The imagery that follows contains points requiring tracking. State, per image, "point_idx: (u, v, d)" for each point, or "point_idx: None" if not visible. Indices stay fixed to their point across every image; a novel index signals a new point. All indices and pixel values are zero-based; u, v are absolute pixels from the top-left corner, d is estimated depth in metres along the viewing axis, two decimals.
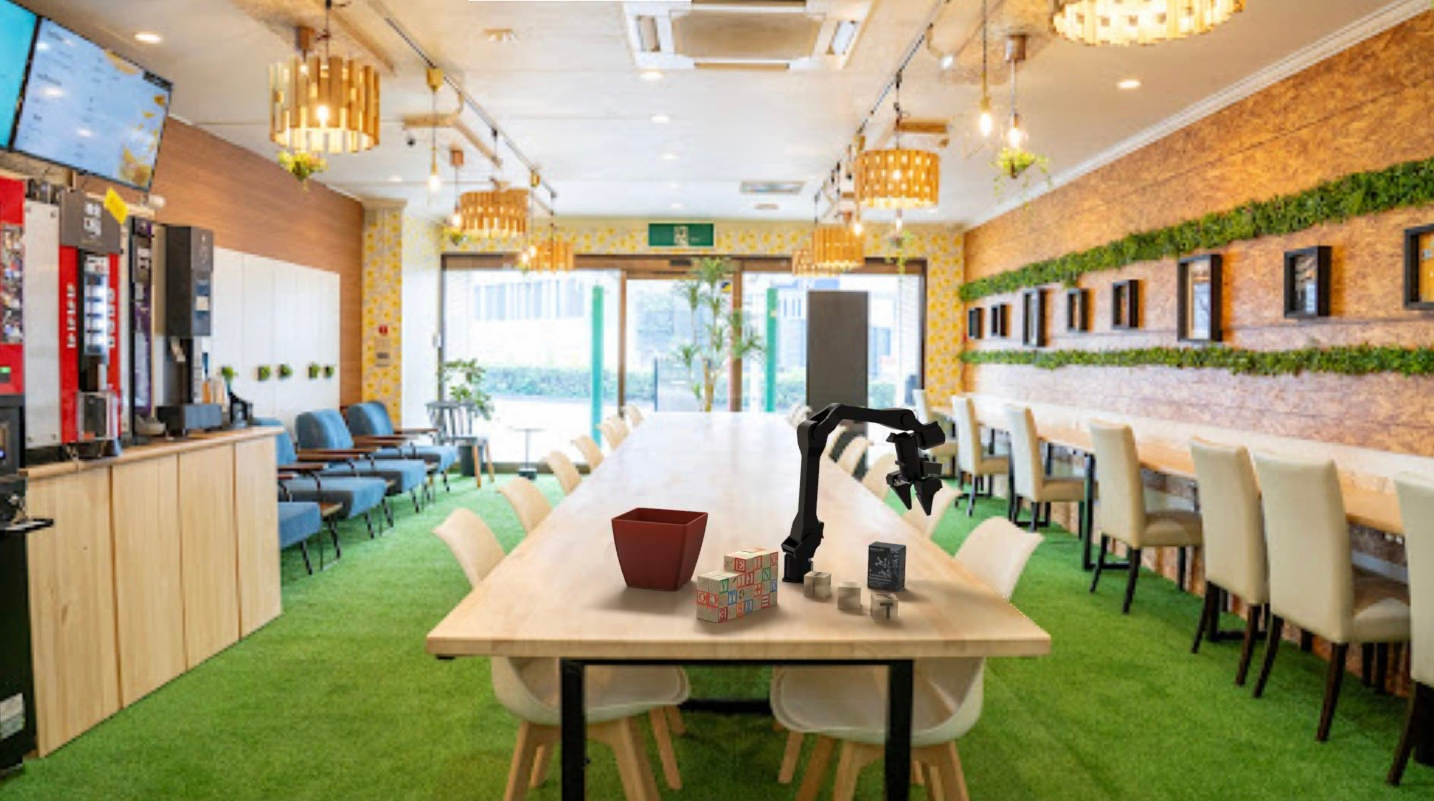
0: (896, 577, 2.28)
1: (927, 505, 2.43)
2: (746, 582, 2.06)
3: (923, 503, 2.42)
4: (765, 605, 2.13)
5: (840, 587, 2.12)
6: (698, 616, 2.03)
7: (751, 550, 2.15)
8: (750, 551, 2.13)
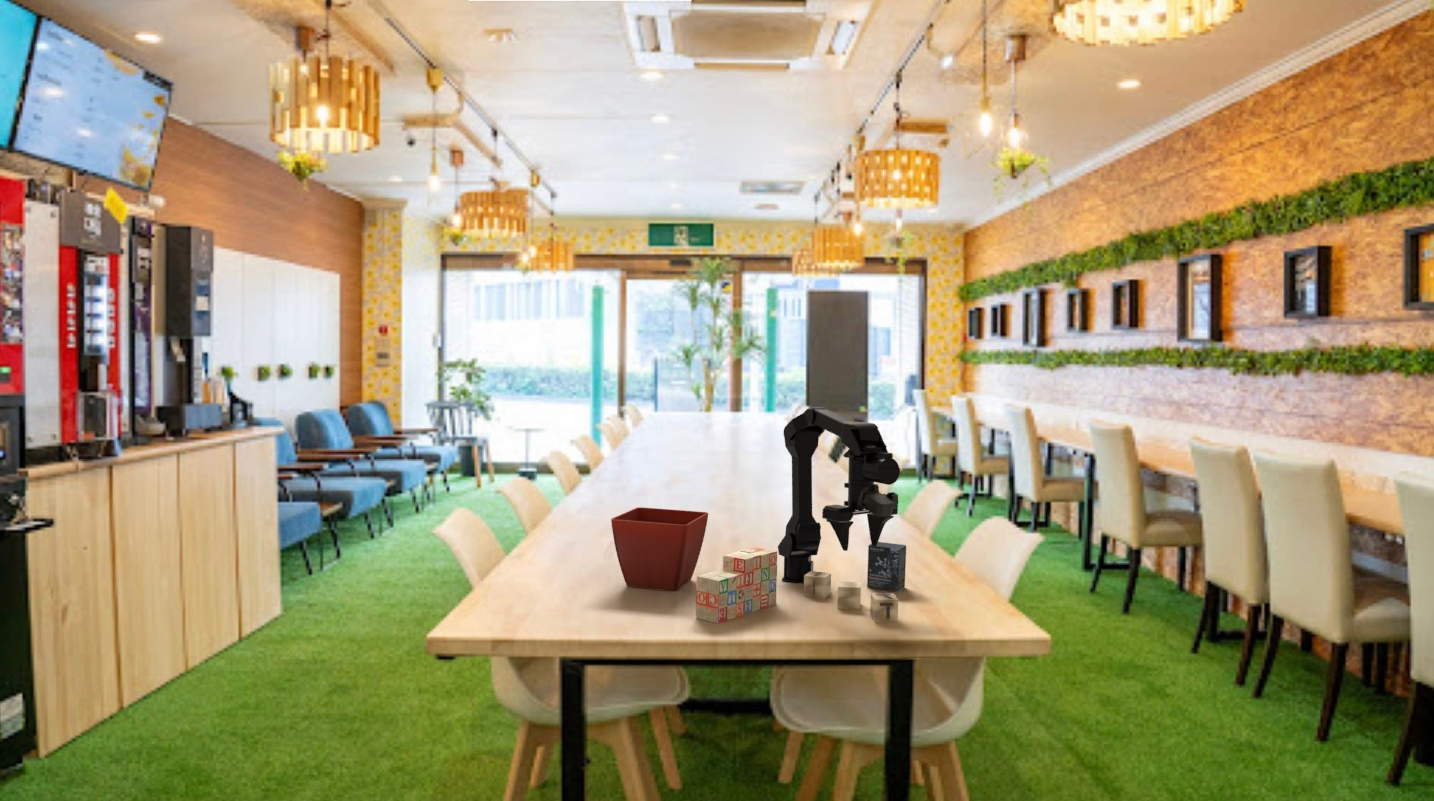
0: (896, 577, 2.28)
1: (840, 537, 2.11)
2: (745, 582, 2.06)
3: (835, 532, 2.12)
4: (764, 605, 2.12)
5: (840, 587, 2.12)
6: (697, 616, 2.03)
7: (750, 550, 2.14)
8: (749, 551, 2.13)
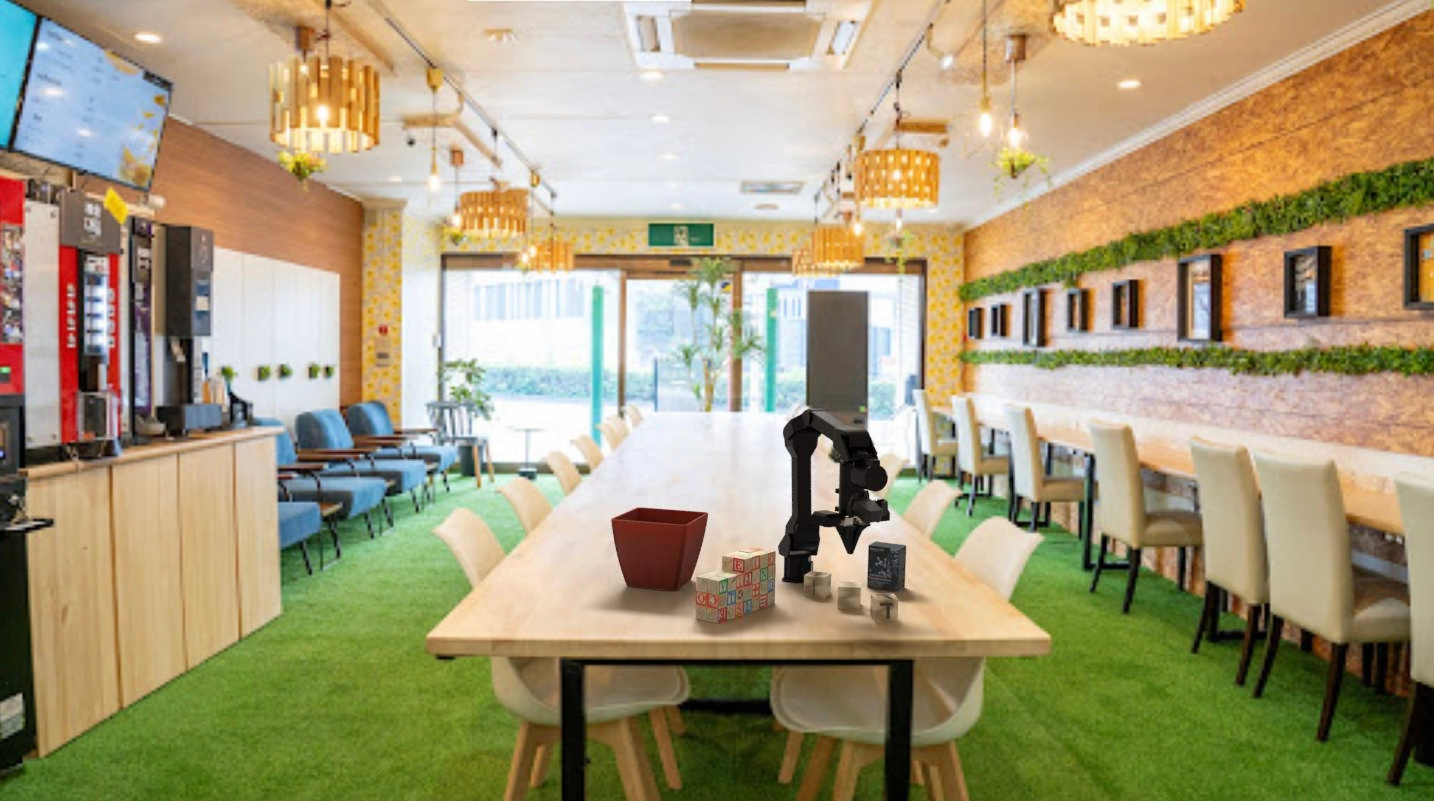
0: (896, 577, 2.28)
1: (844, 540, 2.14)
2: (744, 582, 2.06)
3: (840, 535, 2.14)
4: (763, 605, 2.12)
5: (840, 587, 2.12)
6: (697, 617, 2.02)
7: (748, 550, 2.14)
8: (748, 551, 2.13)
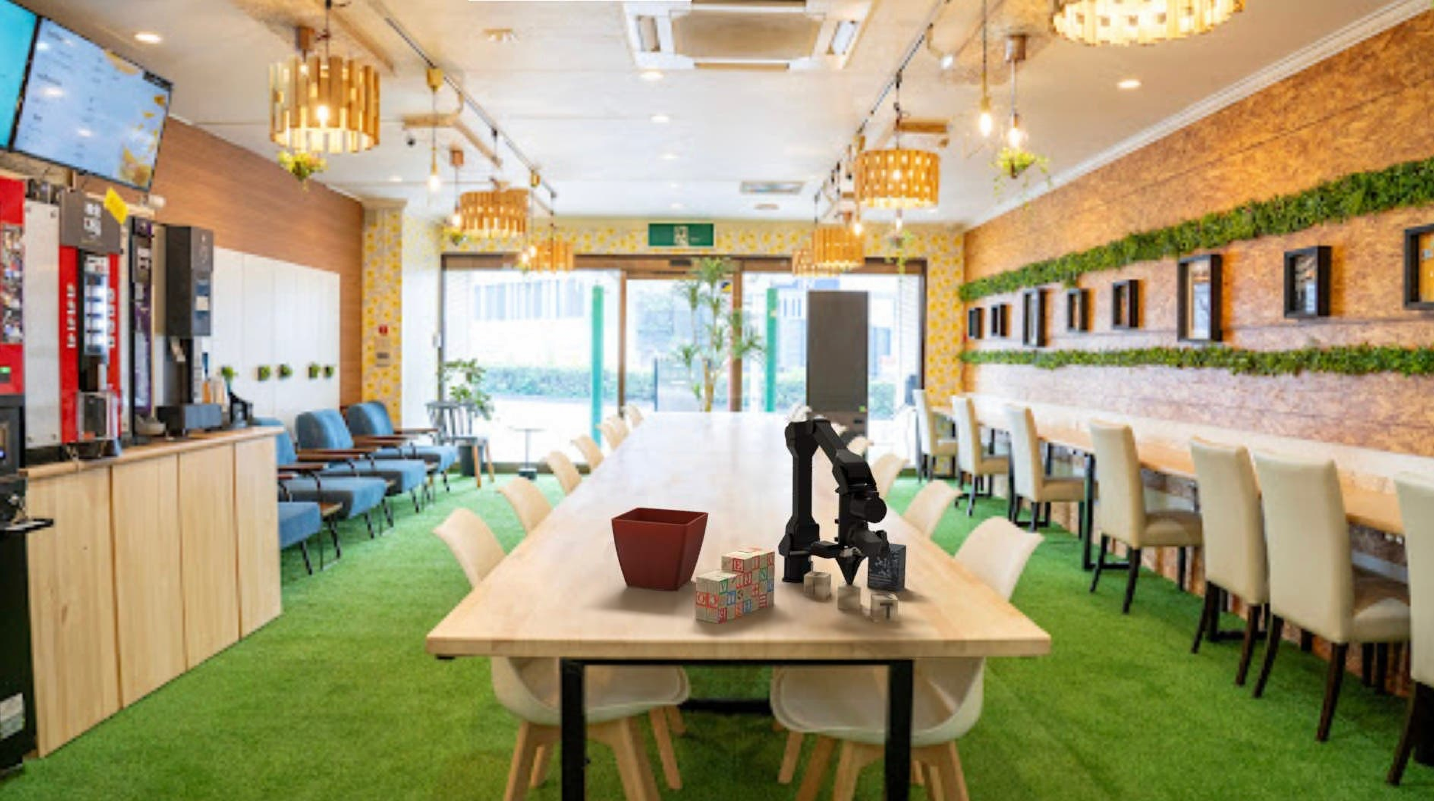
0: (896, 577, 2.28)
1: (844, 571, 2.14)
2: (744, 582, 2.06)
3: (839, 566, 2.15)
4: (762, 605, 2.12)
5: (840, 587, 2.12)
6: (697, 617, 2.02)
7: (748, 550, 2.14)
8: (747, 551, 2.13)
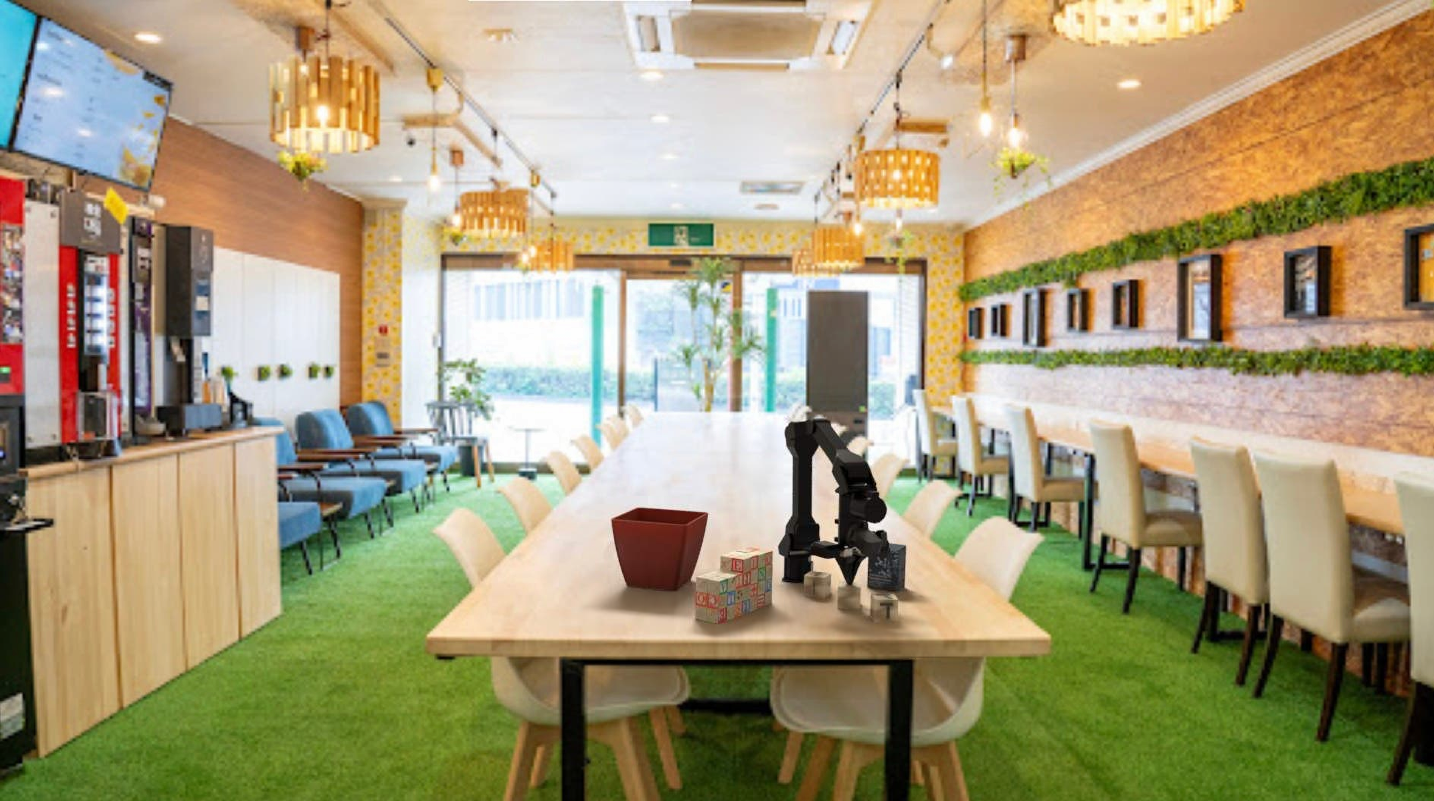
0: (896, 577, 2.28)
1: (844, 571, 2.14)
2: (743, 582, 2.06)
3: (839, 566, 2.15)
4: (761, 605, 2.13)
5: (840, 587, 2.12)
6: (697, 617, 2.02)
7: (746, 550, 2.14)
8: (745, 551, 2.13)
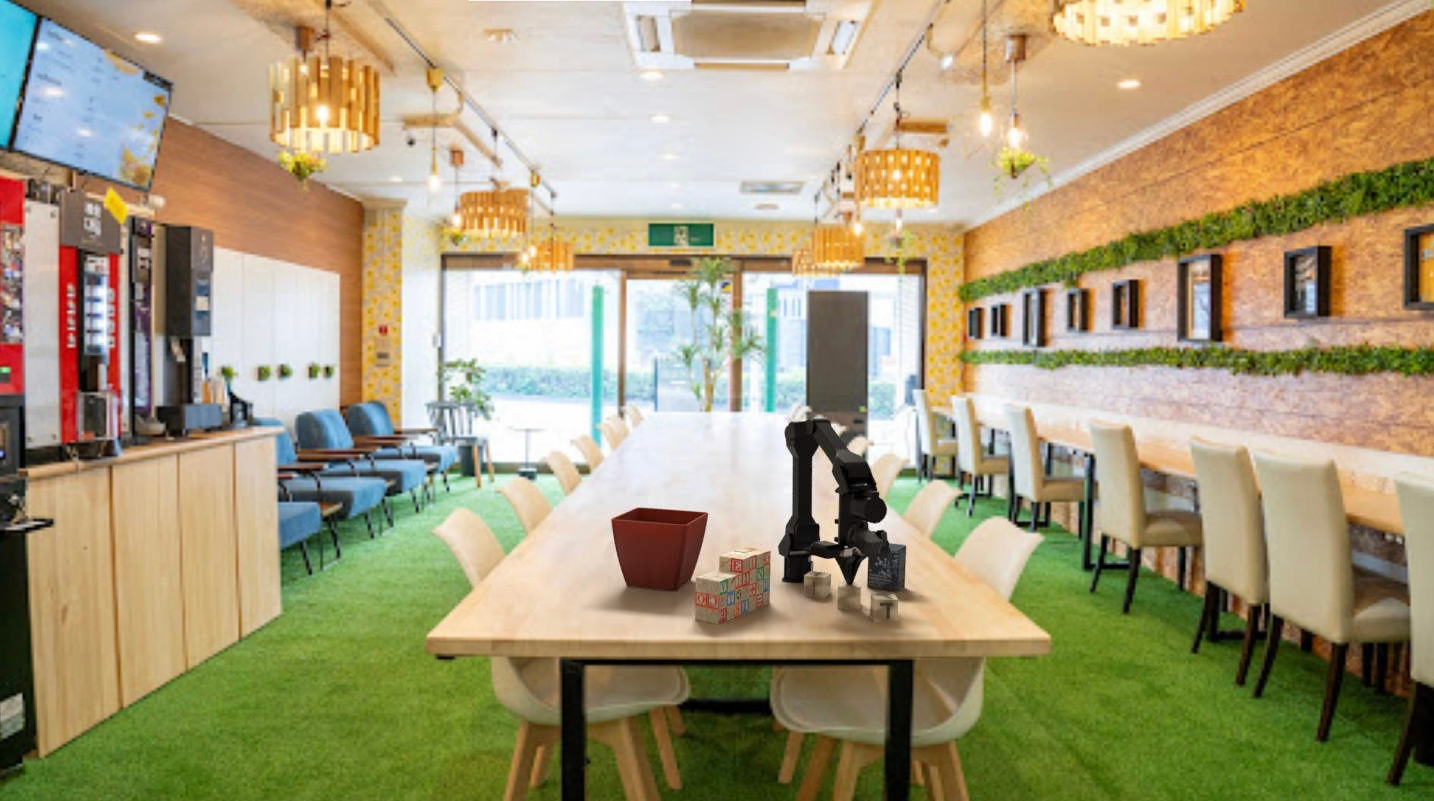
0: (896, 577, 2.28)
1: (844, 571, 2.14)
2: (743, 582, 2.06)
3: (839, 566, 2.15)
4: (759, 605, 2.13)
5: (840, 587, 2.12)
6: (697, 618, 2.02)
7: (744, 550, 2.14)
8: (743, 551, 2.13)
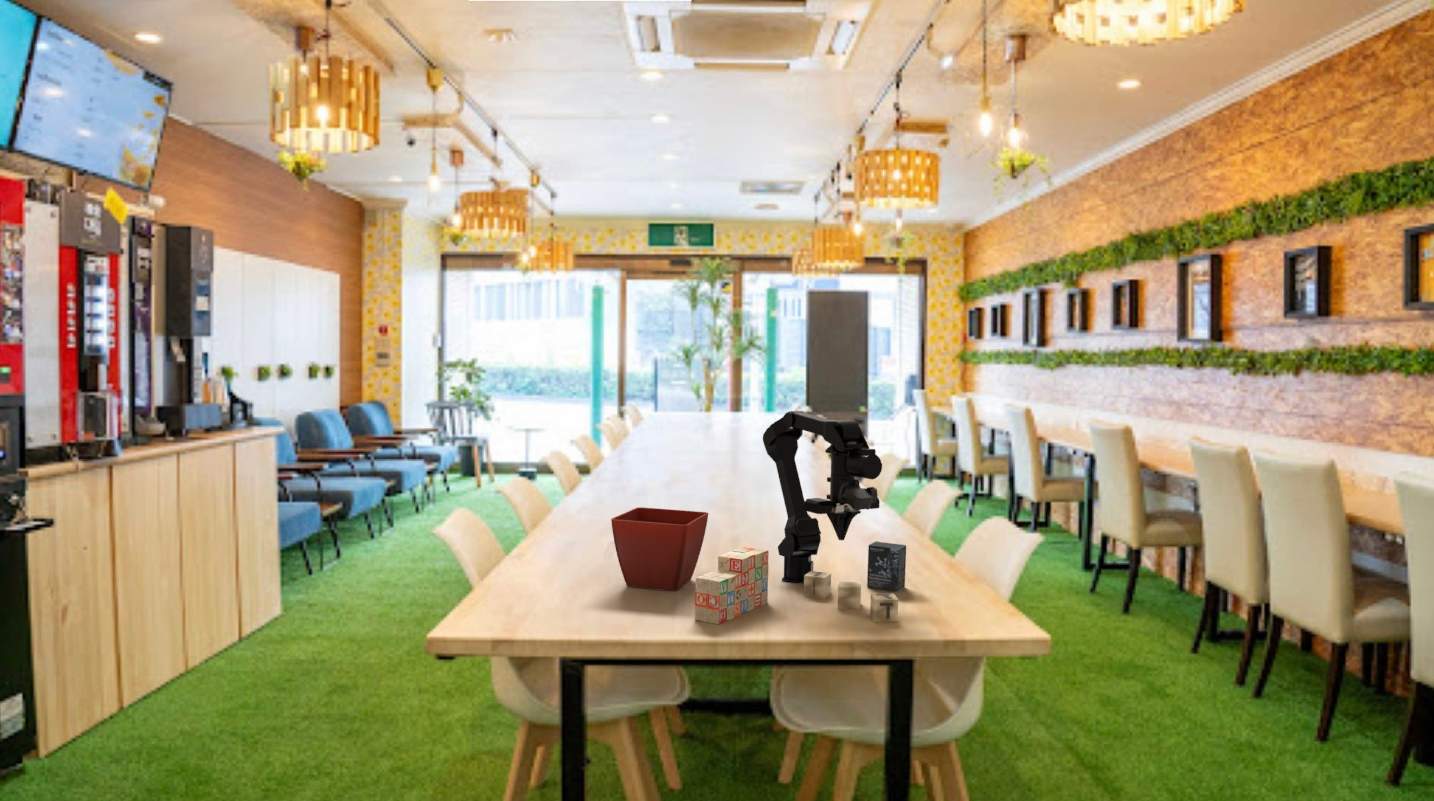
0: (896, 577, 2.28)
1: (836, 527, 2.23)
2: (742, 582, 2.06)
3: (832, 522, 2.24)
4: (757, 604, 2.13)
5: (840, 587, 2.12)
6: (697, 618, 2.01)
7: (742, 550, 2.14)
8: (742, 551, 2.13)
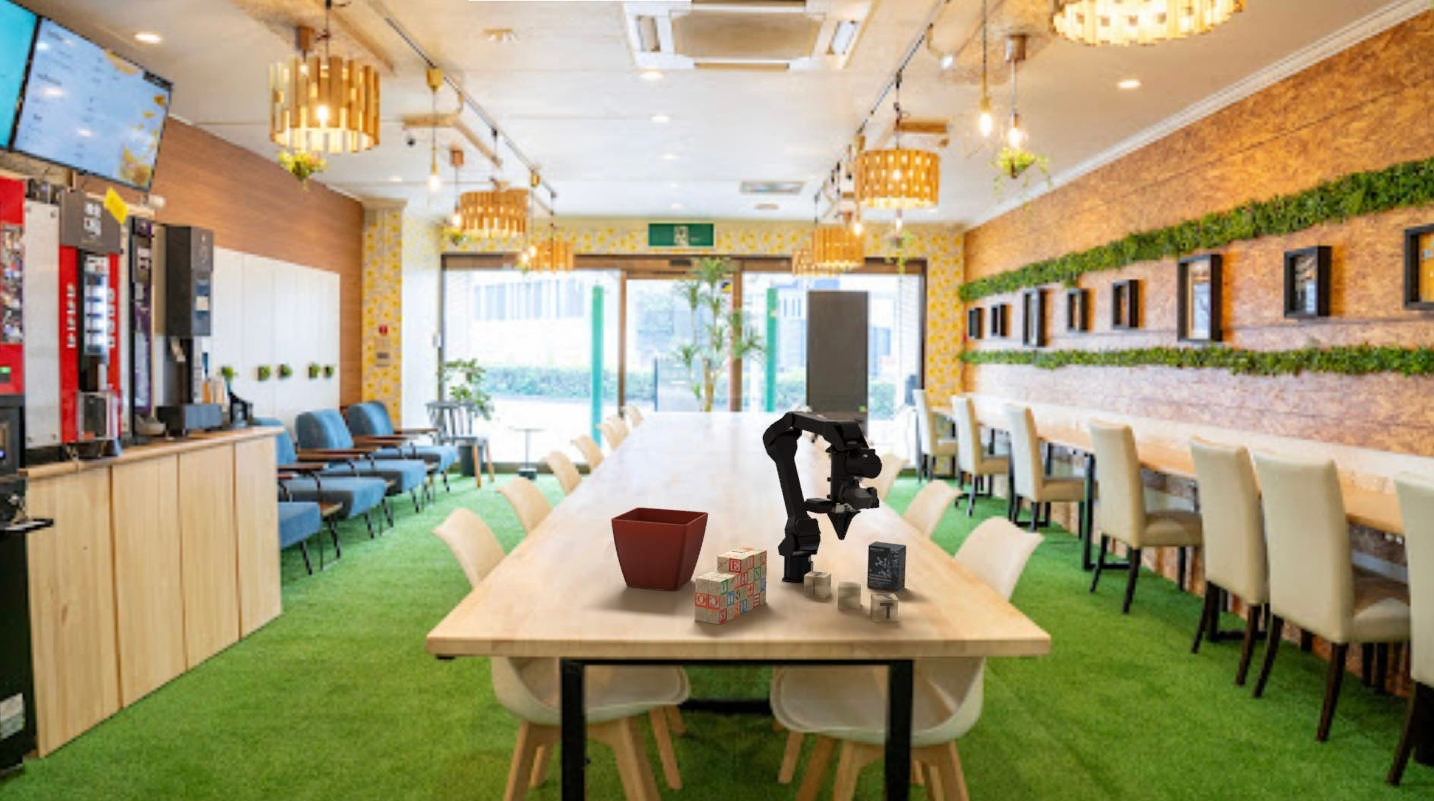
0: (896, 577, 2.28)
1: (836, 527, 2.23)
2: (741, 582, 2.06)
3: (832, 522, 2.24)
4: (756, 604, 2.13)
5: (840, 587, 2.12)
6: (697, 618, 2.01)
7: (741, 550, 2.14)
8: (740, 551, 2.13)
